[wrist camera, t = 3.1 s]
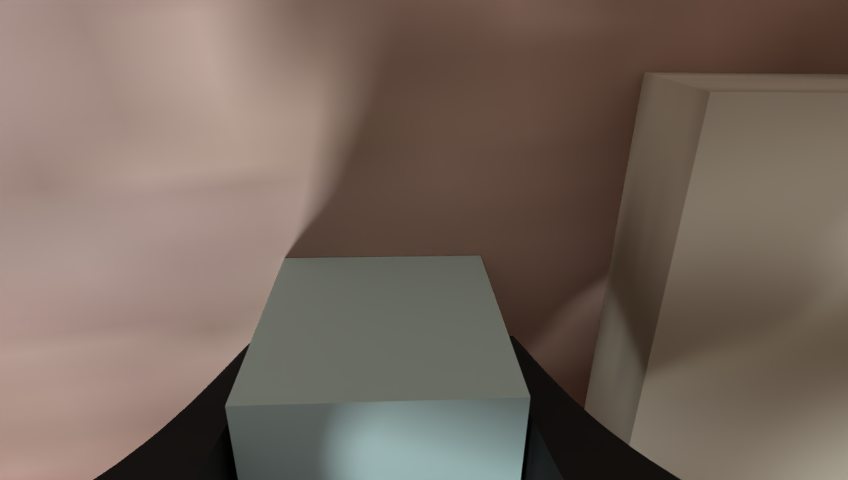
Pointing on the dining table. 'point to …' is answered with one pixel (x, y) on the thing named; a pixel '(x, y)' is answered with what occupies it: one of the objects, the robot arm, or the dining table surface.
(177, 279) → the dining table surface
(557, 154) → the dining table surface
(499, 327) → the mint block
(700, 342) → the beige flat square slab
